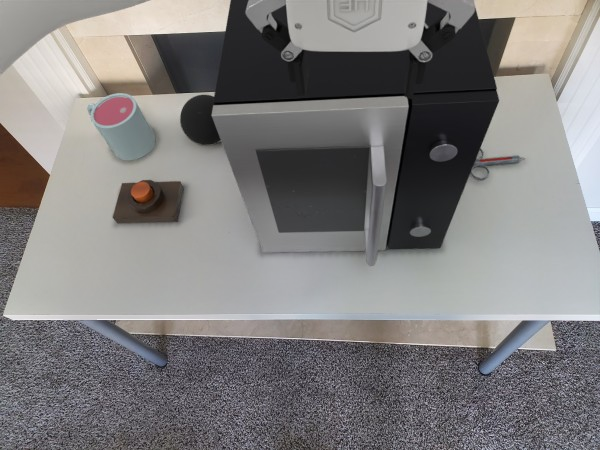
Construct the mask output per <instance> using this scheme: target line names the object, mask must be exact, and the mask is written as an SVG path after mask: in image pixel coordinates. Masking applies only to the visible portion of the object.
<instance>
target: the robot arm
mask: <svg viewBox="0 0 600 450" xmlns="http://www.w3.org/2000/svg"><path fill="white" fill-rule="evenodd" d="M149 1H151V0H0V76H1V75H2V74H4V72H6V71H7V70H8V69H9V68H10V67H11V66H12V65H13V64H14V63H15V62H17V61H18V60H19V59H20V58H21V57H22V56H23V55H25V54H26V53H27V52H29V50H30V49H32V48H33V47H34V46H35V45H36V44H38V43H39V42H40V41H42V40H43V39H44V38H45V37H46V36H48V35H50V34H51V33H53V32H55V31H57V30H58V29H61V28H62V27H64V26H67V25H69V24H72V23H76V22H79V21H83V20H87V19H91V18H94V17H98V16H103V15H107V14H112V13H116V12H119V11H122V10H125V9H129V8H132V7H135V6H138V5H141V4H144V3H147V2H149ZM427 2H428V3H430V4H432V5H434V6H436V7H438V8H441V9H443V10H445V11H447V14H446V15H445V16H443V17H442V18H440V19H439V20H438V21H436V22H435V23H434V24H432V25H431V26H430V27H428V26H427V25H426V23H425V16H426V9H427ZM285 5H286V9H287V21H288V28H287V27H286V26H285V25H284V24H282V23H281V22H280V21H278V20H277V19H276V18H274V17H272V14H271V13H272V12H274V11H275V10H277V9H279V8H281V7H283V6H285ZM475 8H476V5H475V0H249V1H248V4H247V8H246V11H245V13H246V16H247V17H248V18H249V19H250V21H251V22H252V23H253V25H254V26H255V27H256V28H257V30H259V31H260V32H261V33H262V38H263V39H264V40H265V41H266V42H267V43H269V44H270V45H272V46H273V47H274V48H276V49H277V50H278V51H280V52H281V57H282V59H284V60H285V61H287V64H288V71H289V77H290V82H291V83H296V87H297V94H298V97H304V95H306V91H307V85H308V79H309V66H308V56H307V51H323V52H394V51H404V50H408V56H407V64H406V71H405V97H407V99H413V95H414V89H415V84H422V83H423V78H424V73H425V67H426V62H427V61H429V60H431V58H432V54H433V53H434V52H436V51H437V50H438V49H440V48H441V47H443V46H444V45H446V44H447V43H449V42H450V41H452V40H453V39H454V38H455V35H456V32H457V31H458V30H459V29H461V28H462V27H463V25H464V24H465V23H466V22H467V21H468V20H469V18H470V17H471V16H472V15H473V14H474V12H475Z"/></svg>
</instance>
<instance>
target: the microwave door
mask: <svg viewBox="0 0 600 450" xmlns="http://www.w3.org/2000/svg"><path fill="white" fill-rule="evenodd" d="M408 107H409V105H408V99H407V97H405V96H394V97H373V98H353V99H332V100H312V101H292V102H271V103H251V104H230V105H213V110H212V118H213V121H214V123H215V126H216V129H217V131H218V134H219V137H220V139H221V141H220V142H221V145H222V147H223V150H224V153H225V155H226V158H227V161H228V163H229V166H230V169H231V171H232V173H233V177H234V178H235V182H236V184H237V187H238V189H239V192H240V195H241V198H242V200H243V203H244V206H245V208H246V211H247V214H248V216H249V219H250V221H251V225H252V228H253V229H254V233H255V235H256V237H257V240H258V243H259V245H260V246H259V247H260V248H261V250H262V253H264V254H265V253H319V252H323V253H324V252H365V263H366V265H367V266H368V267H374V266H376V264H377V258H378V252H380V251H381V252H382V251H383V252H384V251H386V248H387V237H388V230H389V224H390V218H391V212H392V206H393V200H394V193H395V187H396V181H397V175H398V169H399V163H400V156H401V150H402V144H403V138H404V132H405V126H406V119H407V113H408Z"/></svg>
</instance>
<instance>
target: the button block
mask: <svg viewBox="0 0 600 450" xmlns="http://www.w3.org/2000/svg"><path fill="white" fill-rule="evenodd" d="M139 182H146V183H148V184H149V186H150V187H151V188H152V190H153V196H152V198H151V199H150V200H149V201H147V202H144V203H139V202H137V201H136V200H135V199H134V197H133V196H132V194H131V189H132V187H133V186H134V185H135V184H137V183H139ZM184 190H185V186H184V185H183V183H182V181H181V180H178V181H177V180H175V181H174V180H173V181H170V180H169V181H155V180H152V179H142V180H140V181H137V182H121V185H120V188H119V192H118V195H117V196H118V197H117V200H116V203H115V207H114V211H113V214H112V219H113V220H114V221H115V222H116V223H117V224H151V223H154V224H155V223H156V224H157V223H178V221H179V217H180V211H181V206H182V202H183V196H184Z"/></svg>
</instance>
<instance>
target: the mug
mask: <svg viewBox="0 0 600 450" xmlns="http://www.w3.org/2000/svg"><path fill="white" fill-rule="evenodd" d="M86 110H87V113H88V115H89V116H90V121H91V123H92V124H93V126H94V127H95V128H96V130H97V132H99V134H100V135H101V137H102V138H103V140H104V141H105V142H106V143H107V145H108V146H109V148H110V149H111V151H112V152H113V153H114V155H115V156H116V157H117V158H118V159H120V160H122V161H136V160H139V159H142V158H144V157H146V155H148V154H149V153H150V152H151V151H152V150H153V149H154V147H155V145H156V141H157V140H156V138H157V137H156V134H155V133H154V130H153V129H152V127H151V125H150V124H149V122H148V120H147V118H146V117H145V115H144V113H143V111H142V109H141V108H140V106H139V103H137V100H136V99H135V98H134V97H133V95H131V94H129V93H125V92H117V93H112V94H108V95H106V96H105V97H103V98H101V99H100V100H98V101H97V102H96V103H89V104H88V105H87V108H86Z"/></svg>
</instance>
